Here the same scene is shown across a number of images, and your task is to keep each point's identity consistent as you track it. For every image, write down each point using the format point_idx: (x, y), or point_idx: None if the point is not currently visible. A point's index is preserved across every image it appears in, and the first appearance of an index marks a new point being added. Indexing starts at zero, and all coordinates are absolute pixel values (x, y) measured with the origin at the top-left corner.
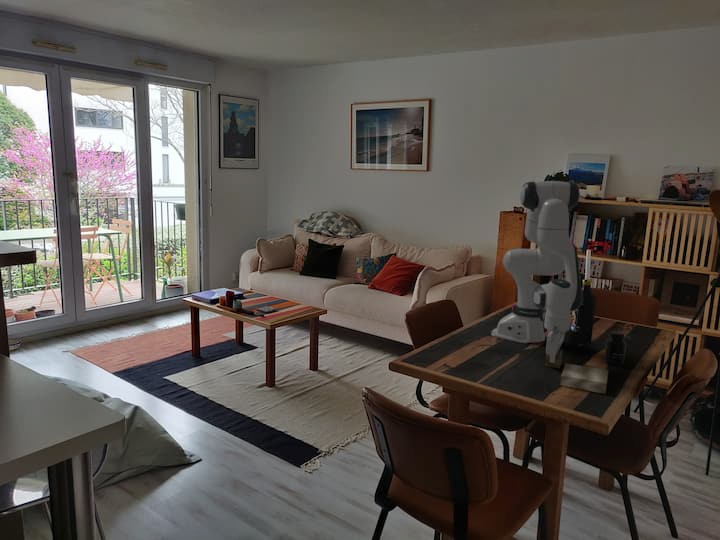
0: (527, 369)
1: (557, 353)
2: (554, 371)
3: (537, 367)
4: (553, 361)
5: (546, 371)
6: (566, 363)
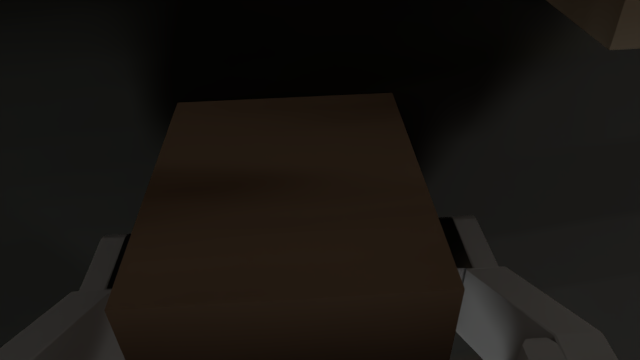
0: None
1: (452, 324)
2: (530, 125)
3: None
4: (477, 239)
5: (565, 201)
6: (622, 35)
